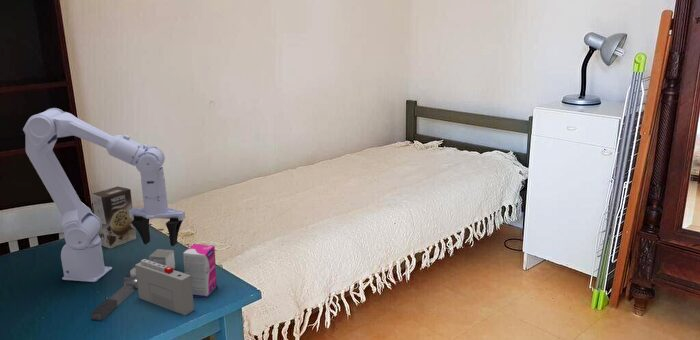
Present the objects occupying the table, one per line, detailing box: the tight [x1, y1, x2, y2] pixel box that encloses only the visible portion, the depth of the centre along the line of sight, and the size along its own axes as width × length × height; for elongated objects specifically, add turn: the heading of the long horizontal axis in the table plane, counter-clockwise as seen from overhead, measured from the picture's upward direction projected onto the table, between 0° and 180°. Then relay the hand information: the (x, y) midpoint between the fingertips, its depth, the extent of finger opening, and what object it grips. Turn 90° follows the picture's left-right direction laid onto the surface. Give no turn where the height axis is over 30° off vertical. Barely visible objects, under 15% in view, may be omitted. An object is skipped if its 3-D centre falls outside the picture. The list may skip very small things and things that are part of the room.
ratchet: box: [90, 267, 138, 322], centre depth 132 cm, size 20×6×4 cm, turn 171°
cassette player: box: [134, 258, 195, 316], centre depth 128 cm, size 16×3×10 cm, turn 60°
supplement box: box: [182, 243, 218, 299], centre depth 133 cm, size 6×6×12 cm
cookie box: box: [91, 186, 137, 249], centre depth 162 cm, size 9×6×16 cm
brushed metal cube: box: [148, 248, 176, 270], centre depth 145 cm, size 5×5×5 cm
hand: (160, 243), depth 144 cm, fingers open, 7 cm apart
